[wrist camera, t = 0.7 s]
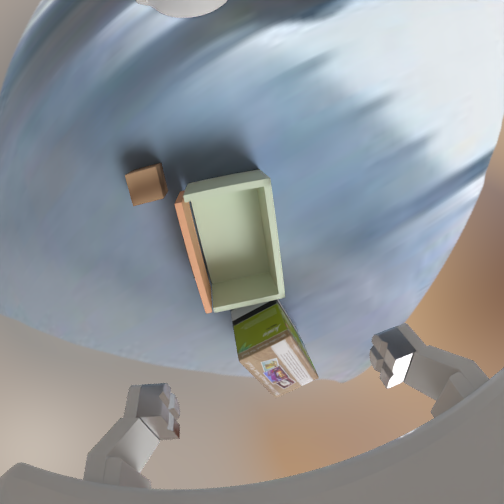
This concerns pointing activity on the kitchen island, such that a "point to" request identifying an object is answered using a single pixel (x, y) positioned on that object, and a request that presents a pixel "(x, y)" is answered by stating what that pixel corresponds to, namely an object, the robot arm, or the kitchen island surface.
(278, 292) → the box
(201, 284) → the board
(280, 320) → the tea box
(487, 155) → the kitchen island surface
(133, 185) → the walnut block
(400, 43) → the kitchen island surface
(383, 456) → the robot arm
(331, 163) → the kitchen island surface
